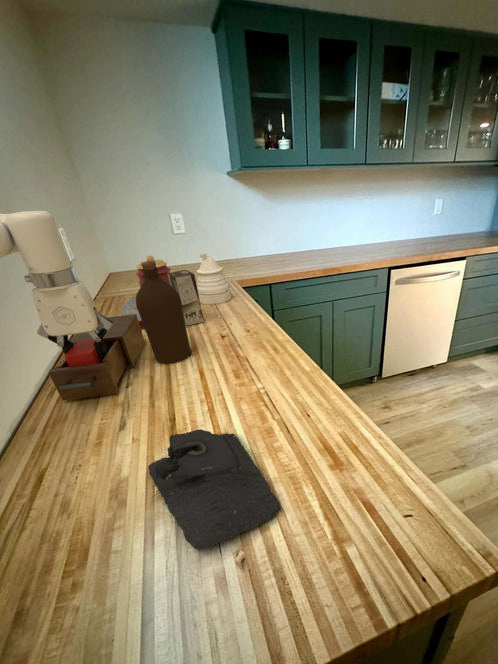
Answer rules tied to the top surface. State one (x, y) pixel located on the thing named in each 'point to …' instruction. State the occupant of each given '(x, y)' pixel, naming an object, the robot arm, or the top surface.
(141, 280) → the kitchen canister
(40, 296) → the robot arm
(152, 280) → the olive oil
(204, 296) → the honey pot
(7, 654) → the top surface
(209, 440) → the folded black cloth
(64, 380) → the drawer
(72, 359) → the red block
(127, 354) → the cabinet
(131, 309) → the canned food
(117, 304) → the top surface
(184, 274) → the coffee box
